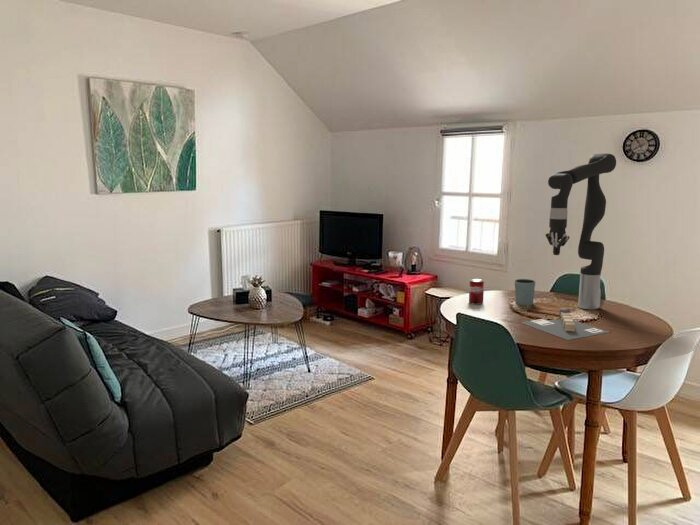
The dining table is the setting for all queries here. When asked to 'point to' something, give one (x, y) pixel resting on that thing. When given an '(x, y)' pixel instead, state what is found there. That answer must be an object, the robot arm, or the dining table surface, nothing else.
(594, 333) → the label mat
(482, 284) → the soda can
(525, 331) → the dining table surface
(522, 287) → the teal cup
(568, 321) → the swing arm
